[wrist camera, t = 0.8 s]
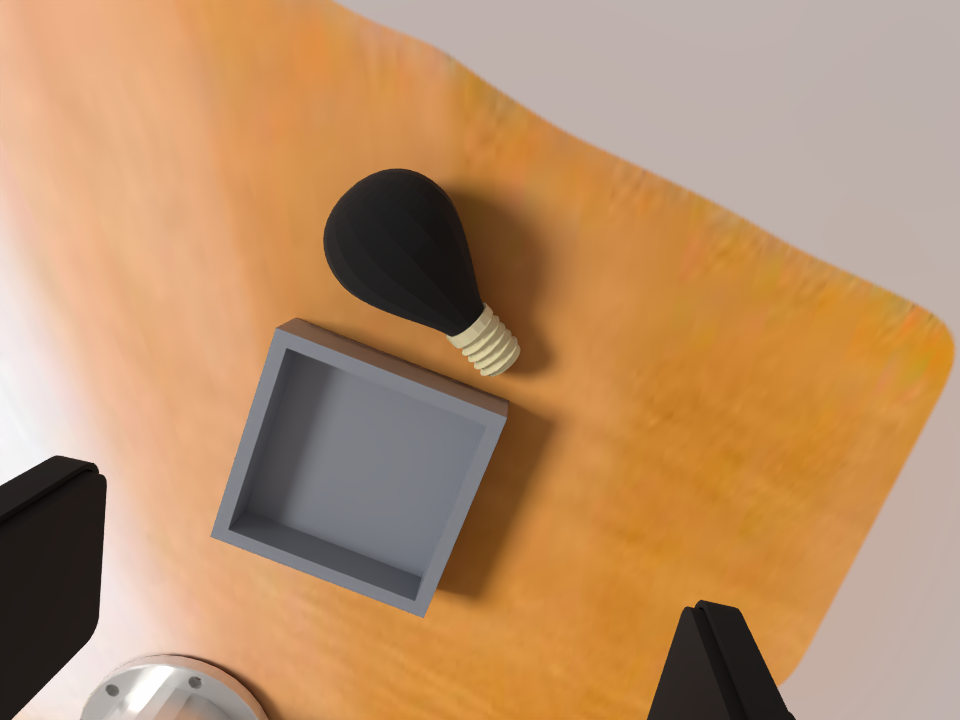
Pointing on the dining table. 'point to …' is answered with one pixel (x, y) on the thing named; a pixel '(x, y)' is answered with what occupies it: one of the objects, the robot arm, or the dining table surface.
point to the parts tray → (357, 466)
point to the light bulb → (415, 263)
